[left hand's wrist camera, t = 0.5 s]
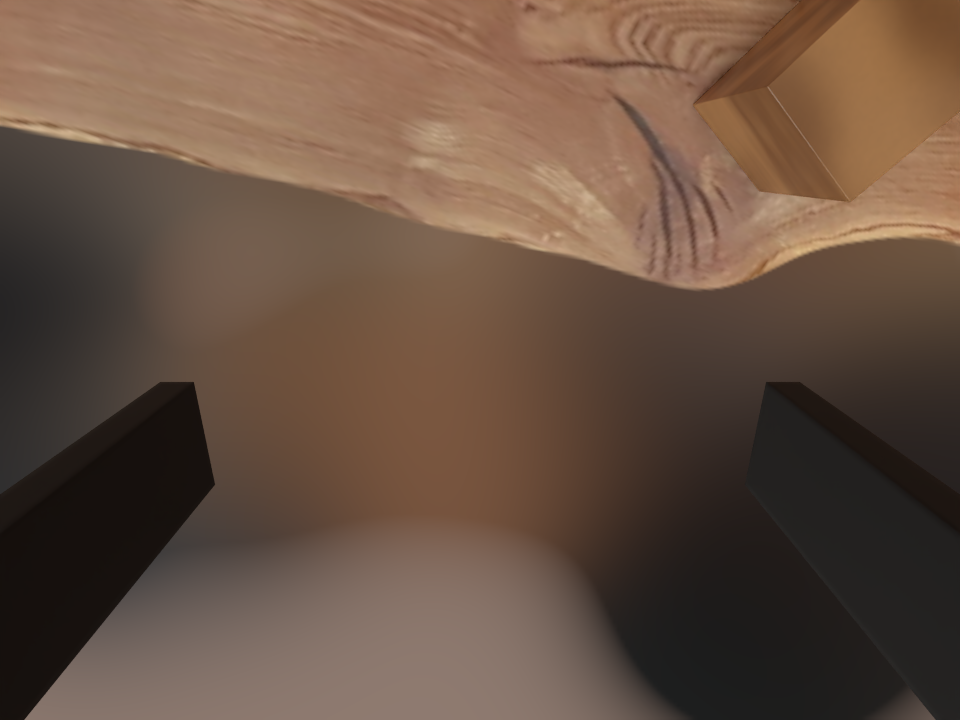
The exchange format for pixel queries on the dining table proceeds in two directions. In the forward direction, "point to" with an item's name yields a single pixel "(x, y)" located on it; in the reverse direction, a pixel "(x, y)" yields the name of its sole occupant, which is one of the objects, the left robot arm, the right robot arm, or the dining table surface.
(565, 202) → the dining table surface
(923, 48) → the box
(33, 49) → the dining table surface
